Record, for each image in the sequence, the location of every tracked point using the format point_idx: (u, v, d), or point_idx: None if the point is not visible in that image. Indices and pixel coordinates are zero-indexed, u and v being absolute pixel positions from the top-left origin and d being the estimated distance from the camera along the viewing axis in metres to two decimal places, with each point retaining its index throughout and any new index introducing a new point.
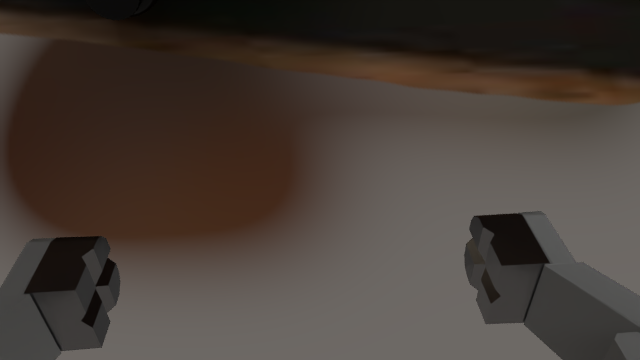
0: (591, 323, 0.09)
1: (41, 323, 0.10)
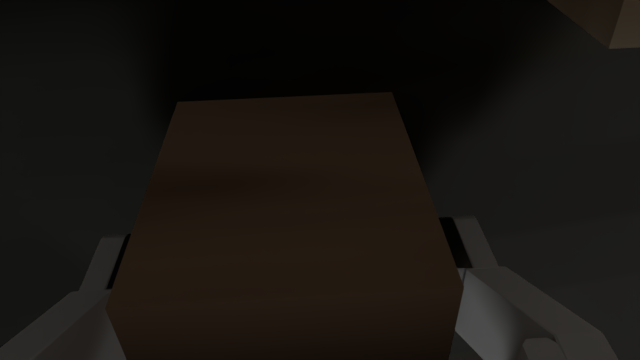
0: (509, 328, 0.09)
1: None
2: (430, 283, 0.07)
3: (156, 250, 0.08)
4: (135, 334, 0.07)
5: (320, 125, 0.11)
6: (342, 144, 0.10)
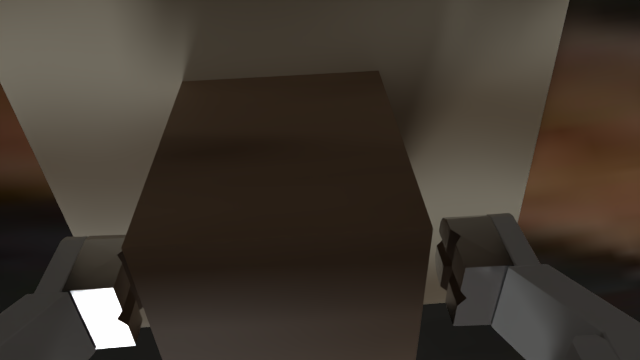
0: (553, 325, 0.09)
1: (78, 321, 0.10)
2: (404, 226, 0.08)
3: (164, 203, 0.09)
4: (147, 273, 0.08)
5: (312, 99, 0.12)
6: (332, 115, 0.11)
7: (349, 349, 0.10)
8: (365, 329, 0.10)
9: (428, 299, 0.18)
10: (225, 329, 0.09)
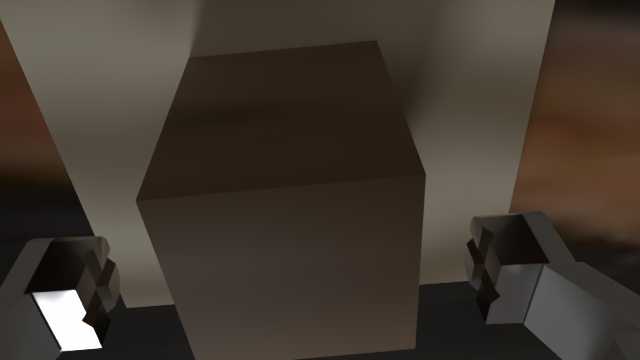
0: (591, 323, 0.09)
1: (41, 323, 0.10)
2: (398, 173, 0.09)
3: (173, 161, 0.10)
4: (160, 225, 0.09)
5: (312, 68, 0.12)
6: (331, 81, 0.12)
7: (354, 299, 0.11)
8: (367, 278, 0.10)
9: (425, 279, 0.19)
10: (235, 280, 0.10)
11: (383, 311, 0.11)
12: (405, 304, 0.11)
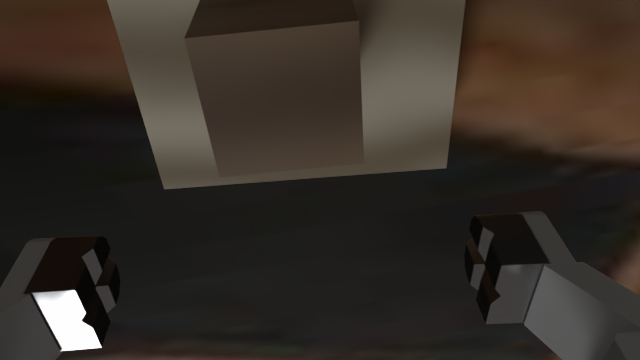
0: (591, 323, 0.09)
1: (41, 323, 0.10)
2: (342, 21, 0.15)
3: (205, 23, 0.15)
4: (198, 57, 0.15)
5: None
6: None
7: (320, 119, 0.16)
8: (328, 102, 0.16)
9: (393, 167, 0.25)
10: (244, 102, 0.16)
11: (341, 130, 0.17)
12: (354, 124, 0.17)
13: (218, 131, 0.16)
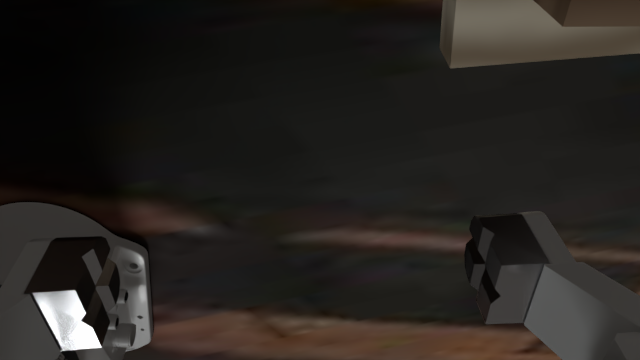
0: (591, 323, 0.09)
1: (41, 323, 0.10)
2: None
3: None
4: None
5: None
6: None
7: None
8: None
9: (615, 51, 0.35)
10: None
11: None
12: None
13: None
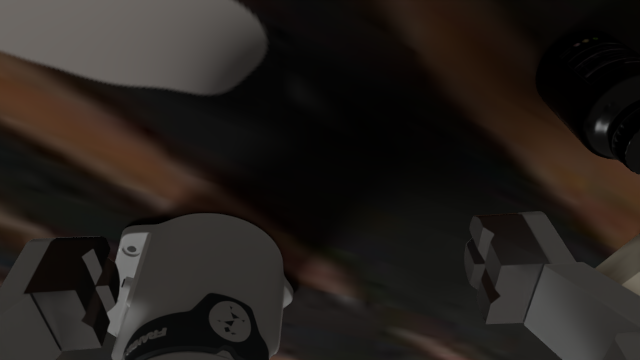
0: (591, 323, 0.09)
1: (41, 323, 0.10)
2: None
3: None
4: None
5: None
6: None
7: None
8: None
9: None
10: None
11: None
12: None
13: None
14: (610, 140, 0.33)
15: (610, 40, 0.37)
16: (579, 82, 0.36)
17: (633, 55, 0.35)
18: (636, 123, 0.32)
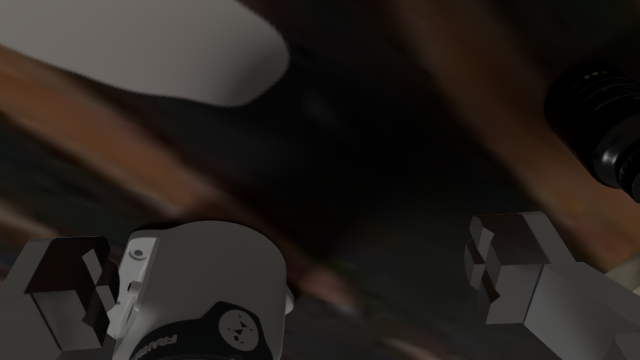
0: (591, 323, 0.09)
1: (41, 323, 0.10)
2: None
3: None
4: None
5: None
6: None
7: None
8: None
9: None
10: None
11: None
12: None
13: None
14: (617, 172, 0.35)
15: (618, 74, 0.39)
16: (589, 114, 0.37)
17: None
18: None
